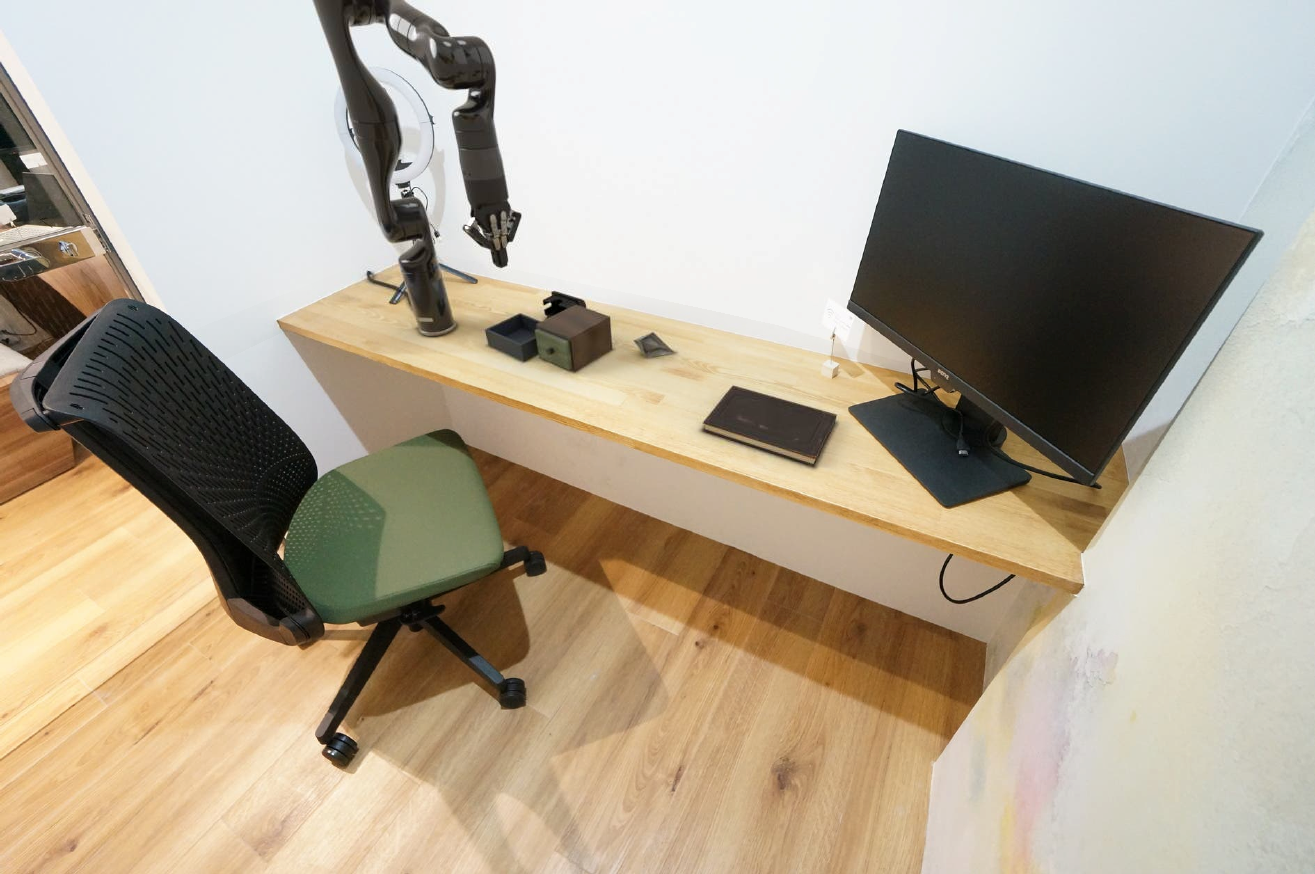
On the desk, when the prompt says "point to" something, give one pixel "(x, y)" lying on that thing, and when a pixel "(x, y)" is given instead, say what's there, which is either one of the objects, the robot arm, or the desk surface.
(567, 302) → the end cap
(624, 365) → the desk surface
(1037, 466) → the desk surface
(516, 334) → the box
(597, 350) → the cabinet
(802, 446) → the hardcover book
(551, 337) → the drawer
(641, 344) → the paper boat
